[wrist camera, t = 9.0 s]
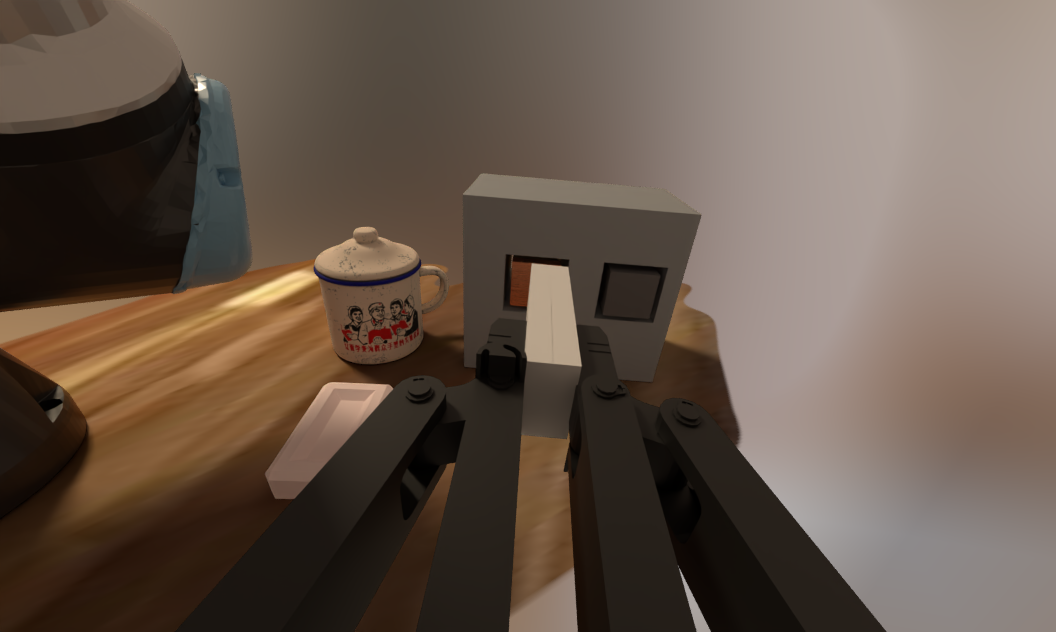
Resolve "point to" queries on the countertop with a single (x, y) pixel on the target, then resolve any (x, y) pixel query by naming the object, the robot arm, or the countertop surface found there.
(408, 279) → the teacup with lid
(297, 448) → the soap bar
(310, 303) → the countertop surface
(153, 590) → the countertop surface
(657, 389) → the countertop surface
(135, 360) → the countertop surface
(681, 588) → the robot arm
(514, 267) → the plunger
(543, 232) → the panel
